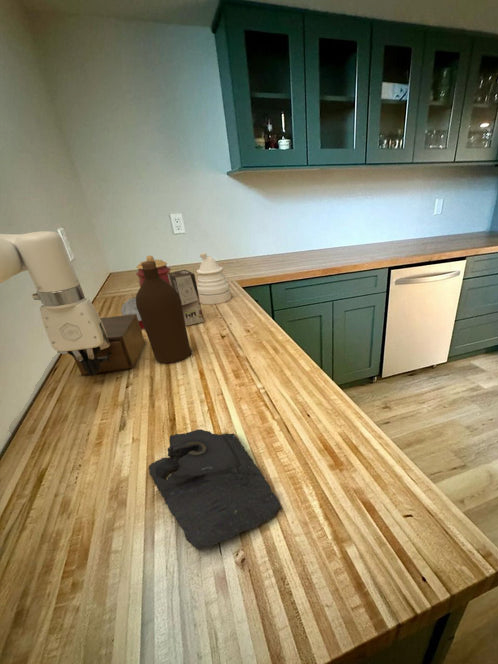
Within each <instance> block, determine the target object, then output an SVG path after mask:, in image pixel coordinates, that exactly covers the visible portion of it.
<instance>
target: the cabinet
mask: <svg viewBox="0 0 498 664" xmlns="http://www.w3.org/2000/svg"><path fill="white" fill-rule="evenodd" d="M100 319H101V321H102V323H103V326H104V328H105V330H106V334H107V339H108V341H112V340H121V342H122V344H123V347H124V350H125V353H126V356H127V358H128V361H129V364H130V366H129V368H122V369H115V370H108V371H101V372H98V373H97V374H102V373H108V372H109V373H110V372H116V371H122V370H131V369H134V368H135V366H136V364H137V362H138V359H139V357H140V355H141V353H142V350H143V348H144V346H145V344H146V341H145V337H144V335H143V332H142V329H141V328H140V324H139V321H138V318H137V315H136V314H132V315H115V316H107V317H100ZM74 361H75V360H74ZM75 363H76V361H75ZM78 371H79V372H80V370H79V369H78ZM80 375H81V376H89V375H88V373H87V374H81V373H80Z"/></svg>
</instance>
